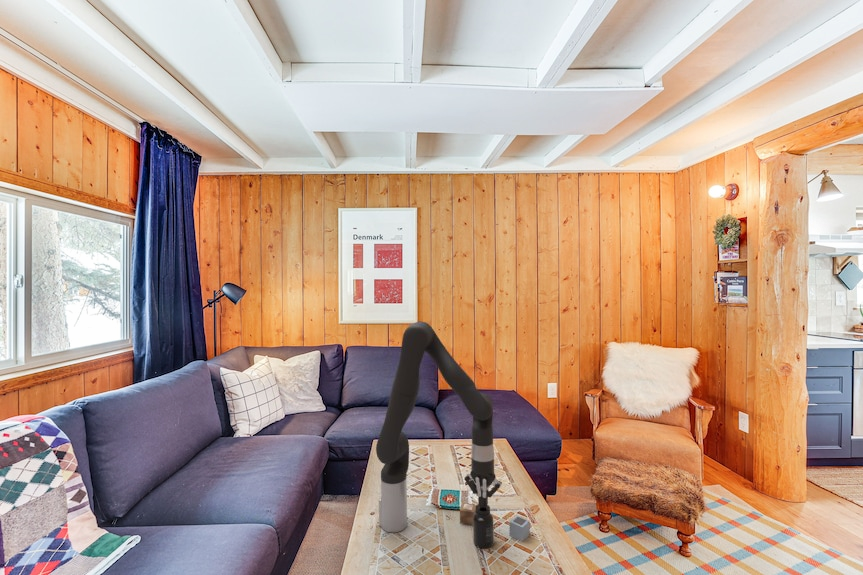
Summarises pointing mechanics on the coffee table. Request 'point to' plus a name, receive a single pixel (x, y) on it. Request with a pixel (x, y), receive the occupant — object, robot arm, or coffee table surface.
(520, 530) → the slate-blue block
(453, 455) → the coffee table surface
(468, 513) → the walnut block
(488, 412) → the robot arm
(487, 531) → the supplement bottle
